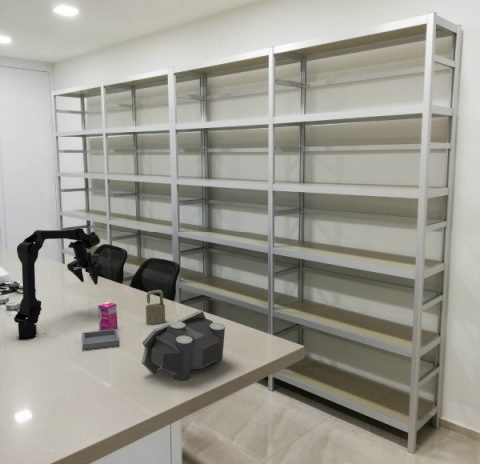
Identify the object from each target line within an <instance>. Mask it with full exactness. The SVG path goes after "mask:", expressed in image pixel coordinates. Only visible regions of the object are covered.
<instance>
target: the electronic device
mask: <svg viewBox="0 0 480 464" xmlns="http://www.w3.org/2000/svg"><path fill="white" fill-rule="evenodd" d="M225 330H226V326H225V324H224V323H222V322H221V323H220V322H213V320H211V319H208V318H206V316H205V313H204V311H203V310H201V309H200V310H198V311H196V312H193V313H191V314H189V315H187V316H185V317H183V318H181V319H178V320H176V321H173V322H170V323H167V324H165V325H162V326H159V327H155V328H154V329H153V330H152V331H151V332H150V333H149V334H148V335H147V337H146V338H145V339H144V340H143V341H142V342H141V343H142V345H143V347H144V351H143V355H142V358H141V364H142V365H143V366H144V368H146V369H147V370H148V371H149V372H150V373H151V374H152V373H153V374H152V375H155V374H156V373H157V372H158V371H159V370H160V369H162V370H164V371H165V372H168V373H169V374H171V375H173V378H174V380H176V381H178V382H186V381H188V380H190V378H191V373H192V372H191V371H192V370H199V369H204V368H205V367H207V366H209V365H211V364H213V363H220V362H222V361H223V355H224V345H225V344H224V343H225Z"/></svg>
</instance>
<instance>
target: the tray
mask: <svg viewBox="0 0 480 464" xmlns="http://www.w3.org/2000/svg"><path fill="white" fill-rule="evenodd" d="M118 333H119V332H118V328H117V329H110V330H95V331H87V332H86V331H84V332H81V338H82V339H81V344H82V345H81V347H82V351H83V350H86V351H92V350H93V349H94V350H101V348H103V349H108V348H109V347H111V348H117V347H120V337H119V334H118Z"/></svg>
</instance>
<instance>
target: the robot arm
mask: <svg viewBox="0 0 480 464" xmlns="http://www.w3.org/2000/svg"><path fill="white" fill-rule="evenodd" d="M57 239H58V240H63V239H65V240H72V241H70V242H69V245H68V248H69V249H73V253H74V257H73V259H74V260H73V261H71V262H70V263H68V264H67V266H66V267H67V271H70V272H71V273H72V274H73V275H74V276H75V277H76V278H77V279H78V280H79V281H80V282H81V283H84V282H85V280H84V273H83V270H87V272H88V273H89V277H90V279H91V280H92V282H93V284H94V285H98V280H99V274H100V272H102V271H103V270H104V265H103V264H101V263H97V262H100V258H101V257H100V254H98V253H91V251H88V250H91V249H93V248H94V247H96V246H98V245H100V243H101V238H100V237H99V235H97V234H96V232H95V231H90V232H89V233H86V232H85V230H84V228H81V227H74V226H72V227H67V228H64V229H51V230H50V229H48V230H47V229H45V230H43V229H36V230H35V231H34V232H33V233H32V234H30V235H29V236H27V237H26V238H24V240H23V241H22V242H20V243H19V244H18V245H17V247H16V253H17V257H18V258H17V259H18V260H19V262H20V263H21V273H22V274H21V276H22V277H21V278H22V299H21V301H20V303H19V306H18V307H19V308H18V311H17V313H16V314H15V316H14V317H13V320H14V323H17V326H18V327H17V329H18V341H22V340H31V339H36V336H37V334H38V330H37V329H38V327H37V323H38V322H39V317H40V316H41V311H42V310H43V309H42V301H41V300H38V299H37V296H36V294H37V293H36V273H35V272H36V271H35V268H36V267H35V263H36V261H37V259H38V258H39V251H40V250H41V249H42V247H43V245H44V242H45V241H46V240H57ZM94 262H95V263H94Z"/></svg>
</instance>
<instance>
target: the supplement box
mask: <svg viewBox="0 0 480 464" xmlns="http://www.w3.org/2000/svg"><path fill="white" fill-rule="evenodd" d="M117 311H118V310H117V303H116V302H115V303H113V302H109V301H106V302H103V303H101V304H98V305H97V315H98V317H97V318H98V331H102V330H110V329H117V330H118V329H119V328H118V313H117Z"/></svg>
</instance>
